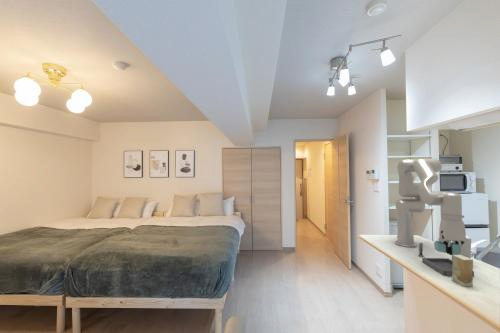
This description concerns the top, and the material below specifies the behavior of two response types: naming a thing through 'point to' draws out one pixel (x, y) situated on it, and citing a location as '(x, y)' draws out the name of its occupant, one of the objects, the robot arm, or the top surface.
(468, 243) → the skincare box
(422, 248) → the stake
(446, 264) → the tray
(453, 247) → the teal magnifying glass
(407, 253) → the top surface
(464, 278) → the skincare box
